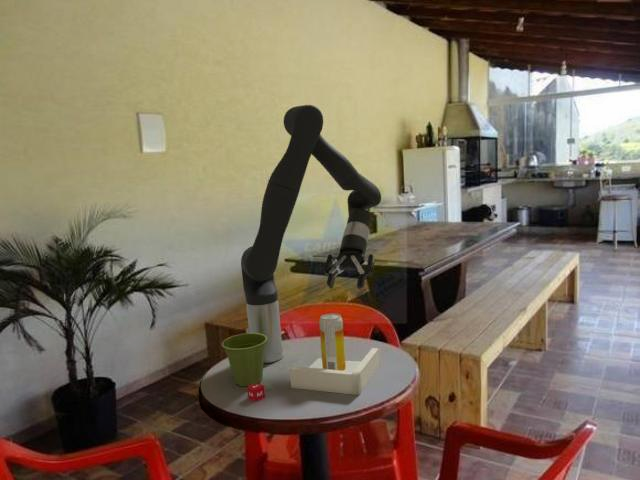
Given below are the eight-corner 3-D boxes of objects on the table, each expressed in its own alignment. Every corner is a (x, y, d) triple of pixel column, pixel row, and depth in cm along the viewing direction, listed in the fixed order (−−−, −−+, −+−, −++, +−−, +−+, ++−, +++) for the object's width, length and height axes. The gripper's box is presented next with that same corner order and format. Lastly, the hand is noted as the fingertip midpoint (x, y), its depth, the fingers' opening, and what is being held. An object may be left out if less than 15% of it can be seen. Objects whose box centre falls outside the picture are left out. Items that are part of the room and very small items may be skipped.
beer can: (346, 366, 135) (342, 312, 133) (345, 375, 129) (341, 319, 127) (324, 367, 136) (320, 313, 134) (322, 376, 130) (317, 320, 128)
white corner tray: (291, 387, 127) (289, 368, 126) (318, 360, 143) (317, 344, 142) (359, 395, 120) (357, 375, 119) (379, 366, 136) (378, 348, 135)
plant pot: (221, 378, 136) (216, 338, 134) (263, 368, 140) (259, 330, 139) (232, 395, 125) (227, 352, 123) (277, 384, 129) (273, 342, 128)
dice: (258, 394, 125) (257, 382, 124) (265, 397, 122) (264, 385, 122) (248, 398, 123) (246, 386, 122) (255, 401, 120) (254, 390, 120)
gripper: (328, 233, 149) (316, 280, 140) (375, 232, 144) (365, 281, 135) (336, 248, 155) (325, 293, 146) (381, 247, 149) (372, 295, 140)
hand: (344, 287), depth 140 cm, fingers open, 8 cm apart
